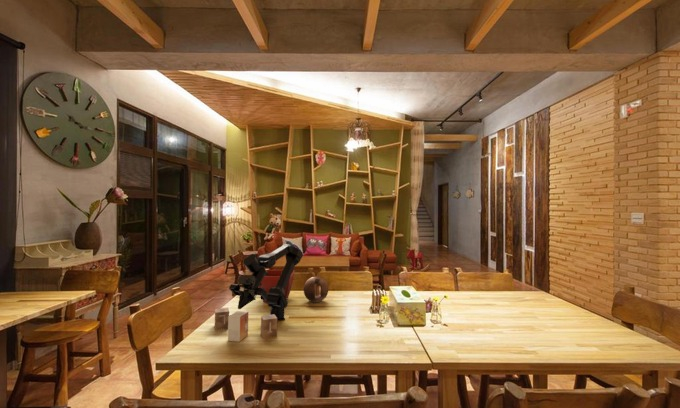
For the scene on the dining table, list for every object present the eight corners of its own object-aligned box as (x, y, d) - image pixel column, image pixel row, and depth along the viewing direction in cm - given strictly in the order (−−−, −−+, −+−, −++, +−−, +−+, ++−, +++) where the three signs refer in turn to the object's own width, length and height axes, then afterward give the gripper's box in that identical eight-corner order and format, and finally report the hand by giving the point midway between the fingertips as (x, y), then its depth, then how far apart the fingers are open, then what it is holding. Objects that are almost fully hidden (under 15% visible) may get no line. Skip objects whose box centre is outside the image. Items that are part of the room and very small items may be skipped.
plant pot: (289, 305, 192) (289, 276, 192) (256, 304, 192) (257, 275, 193) (294, 296, 211) (294, 270, 212) (264, 296, 212) (264, 269, 212)
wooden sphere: (306, 297, 209) (307, 274, 210) (330, 299, 207) (330, 275, 208) (300, 304, 195) (301, 279, 195) (325, 306, 192) (326, 280, 193)
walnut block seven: (227, 324, 160) (228, 307, 160) (228, 328, 154) (229, 311, 154) (214, 325, 158) (215, 308, 158) (215, 330, 152) (215, 312, 152)
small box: (239, 342, 139) (240, 317, 139) (227, 341, 140) (227, 315, 140) (248, 335, 147) (248, 311, 147) (236, 334, 148) (237, 310, 148)
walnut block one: (274, 331, 151) (274, 314, 152) (276, 336, 146) (277, 318, 146) (260, 333, 149) (261, 315, 149) (263, 338, 143) (263, 320, 144)
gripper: (232, 266, 153) (212, 295, 143) (264, 270, 145) (246, 301, 135) (243, 280, 160) (226, 309, 150) (275, 284, 152) (259, 315, 142)
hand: (238, 308), depth 144 cm, fingers closed
